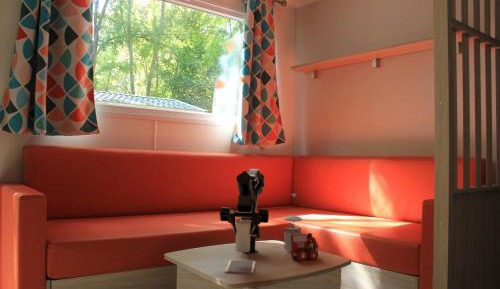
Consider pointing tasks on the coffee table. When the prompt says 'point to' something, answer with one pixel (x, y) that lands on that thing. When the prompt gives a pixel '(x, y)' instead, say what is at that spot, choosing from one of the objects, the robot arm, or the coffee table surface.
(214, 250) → the coffee table surface
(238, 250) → the canister
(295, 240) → the toy fire truck
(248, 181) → the robot arm
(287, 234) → the french press
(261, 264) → the coffee table surface
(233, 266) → the mat
